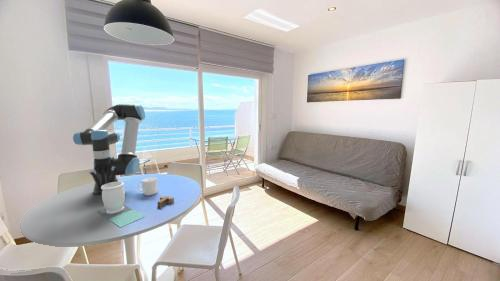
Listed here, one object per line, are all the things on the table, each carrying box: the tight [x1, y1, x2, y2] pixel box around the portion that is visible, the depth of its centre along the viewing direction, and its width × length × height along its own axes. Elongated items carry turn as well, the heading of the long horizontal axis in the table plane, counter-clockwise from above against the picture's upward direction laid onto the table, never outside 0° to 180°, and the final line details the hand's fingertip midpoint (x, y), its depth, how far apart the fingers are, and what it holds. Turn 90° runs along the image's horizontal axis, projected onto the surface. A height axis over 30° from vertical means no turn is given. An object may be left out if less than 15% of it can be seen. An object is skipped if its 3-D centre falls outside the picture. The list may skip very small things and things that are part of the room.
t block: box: [156, 195, 175, 208], centre depth 120 cm, size 8×8×3 cm
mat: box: [98, 204, 146, 228], centre depth 108 cm, size 26×12×1 cm, turn 56°
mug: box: [137, 176, 159, 196], centre depth 136 cm, size 12×9×9 cm
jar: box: [101, 181, 126, 214], centre depth 111 cm, size 11×10×15 cm
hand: (106, 197), depth 116 cm, fingers closed
